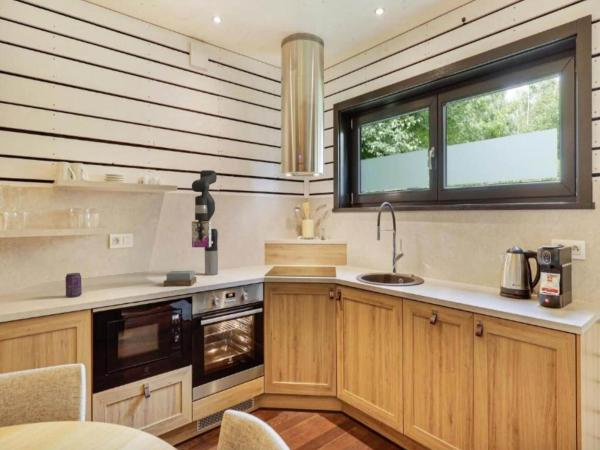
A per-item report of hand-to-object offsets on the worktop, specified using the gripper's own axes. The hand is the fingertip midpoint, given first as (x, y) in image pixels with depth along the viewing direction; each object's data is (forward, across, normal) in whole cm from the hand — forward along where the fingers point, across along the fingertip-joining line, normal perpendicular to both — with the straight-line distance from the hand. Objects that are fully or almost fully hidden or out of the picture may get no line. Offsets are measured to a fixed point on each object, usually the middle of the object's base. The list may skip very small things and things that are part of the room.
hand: (201, 239), depth 224 cm
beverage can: (+28, +30, -61) cm, 74 cm away
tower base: (+28, +3, -13) cm, 31 cm away
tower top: (+24, +2, -13) cm, 27 cm away
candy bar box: (+5, 0, 0) cm, 5 cm away
